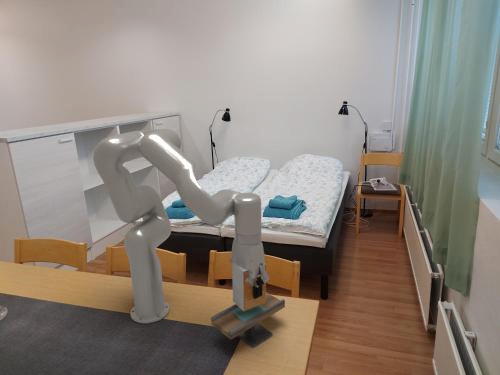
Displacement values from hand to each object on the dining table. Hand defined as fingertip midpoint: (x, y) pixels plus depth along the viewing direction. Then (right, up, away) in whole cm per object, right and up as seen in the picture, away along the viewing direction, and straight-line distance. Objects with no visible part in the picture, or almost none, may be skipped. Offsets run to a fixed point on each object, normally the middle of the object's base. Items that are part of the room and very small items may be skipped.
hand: (249, 291), depth 108 cm
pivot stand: (0, -14, +4) cm, 14 cm away
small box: (0, -4, +1) cm, 4 cm away
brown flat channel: (0, -8, +2) cm, 8 cm away
